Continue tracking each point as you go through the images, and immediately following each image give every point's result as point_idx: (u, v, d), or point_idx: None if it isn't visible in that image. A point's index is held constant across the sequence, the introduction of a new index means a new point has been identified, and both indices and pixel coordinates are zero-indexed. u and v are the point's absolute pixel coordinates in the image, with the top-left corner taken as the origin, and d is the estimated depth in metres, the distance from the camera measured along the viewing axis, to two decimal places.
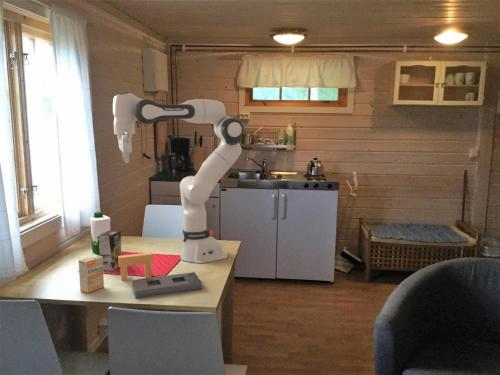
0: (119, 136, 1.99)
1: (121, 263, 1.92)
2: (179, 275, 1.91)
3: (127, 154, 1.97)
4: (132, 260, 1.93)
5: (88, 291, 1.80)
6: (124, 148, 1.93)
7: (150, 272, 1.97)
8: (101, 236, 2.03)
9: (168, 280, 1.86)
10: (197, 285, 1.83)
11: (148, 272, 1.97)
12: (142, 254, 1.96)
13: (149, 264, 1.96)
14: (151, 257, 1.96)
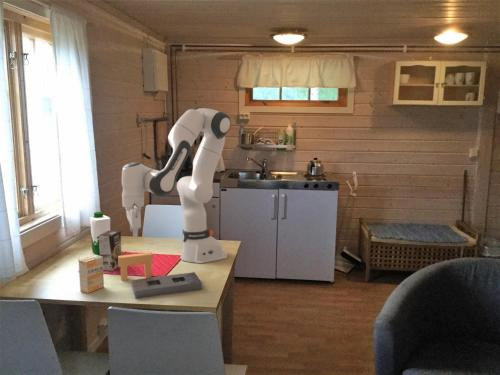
0: (127, 208, 1.89)
1: (121, 263, 1.92)
2: (179, 275, 1.91)
3: (136, 228, 1.87)
4: (132, 260, 1.93)
5: (88, 291, 1.80)
6: (133, 224, 1.82)
7: (150, 272, 1.97)
8: (101, 236, 2.03)
9: (168, 280, 1.86)
10: (197, 285, 1.83)
11: (148, 272, 1.97)
12: (142, 254, 1.96)
13: (149, 264, 1.96)
14: (151, 257, 1.96)
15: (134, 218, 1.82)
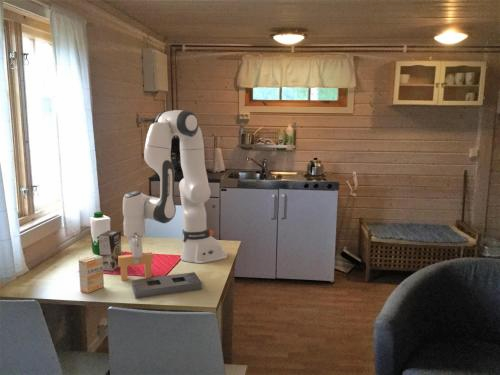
0: (129, 237, 1.91)
1: (121, 263, 1.92)
2: (179, 275, 1.91)
3: None
4: (132, 260, 1.93)
5: (88, 291, 1.80)
6: (134, 253, 1.85)
7: (150, 272, 1.97)
8: (101, 236, 2.03)
9: (168, 280, 1.86)
10: (197, 285, 1.83)
11: (148, 272, 1.97)
12: None
13: (149, 264, 1.96)
14: (151, 257, 1.96)
15: (135, 248, 1.85)
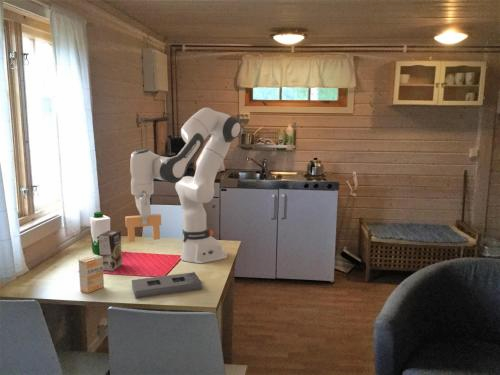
0: (137, 197, 1.84)
1: (128, 223, 1.85)
2: (179, 275, 1.91)
3: None
4: (140, 221, 1.86)
5: (88, 291, 1.80)
6: (142, 212, 1.78)
7: (158, 234, 1.90)
8: (101, 236, 2.03)
9: (168, 280, 1.86)
10: (197, 285, 1.83)
11: (156, 234, 1.90)
12: None
13: (157, 226, 1.89)
14: (159, 218, 1.89)
15: (143, 206, 1.78)
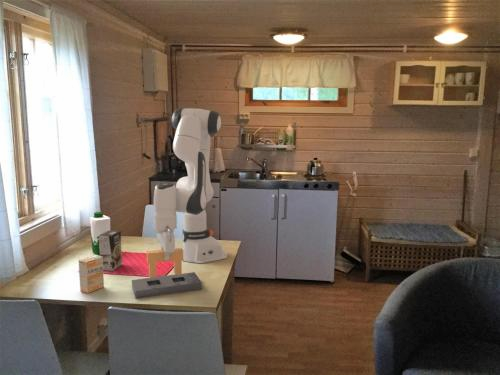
0: (160, 231, 1.78)
1: (150, 258, 1.79)
2: (179, 275, 1.91)
3: None
4: (162, 256, 1.81)
5: (88, 291, 1.80)
6: (166, 248, 1.72)
7: (180, 269, 1.84)
8: (101, 236, 2.03)
9: (168, 280, 1.86)
10: (197, 285, 1.83)
11: (178, 269, 1.84)
12: None
13: (179, 261, 1.84)
14: (182, 253, 1.83)
15: (168, 242, 1.72)
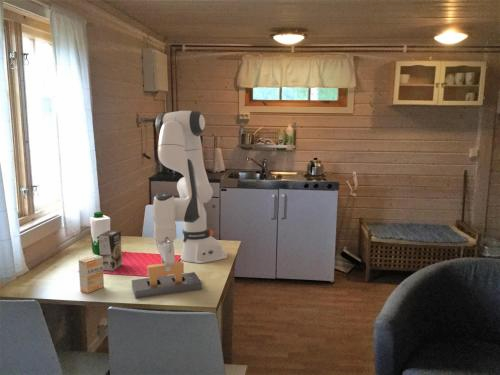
0: (159, 242, 1.79)
1: (150, 273, 1.81)
2: None
3: None
4: (162, 270, 1.82)
5: (88, 291, 1.80)
6: (166, 259, 1.73)
7: None
8: (101, 236, 2.03)
9: (168, 280, 1.86)
10: (197, 285, 1.83)
11: None
12: None
13: (180, 274, 1.85)
14: (182, 266, 1.85)
15: (168, 253, 1.73)
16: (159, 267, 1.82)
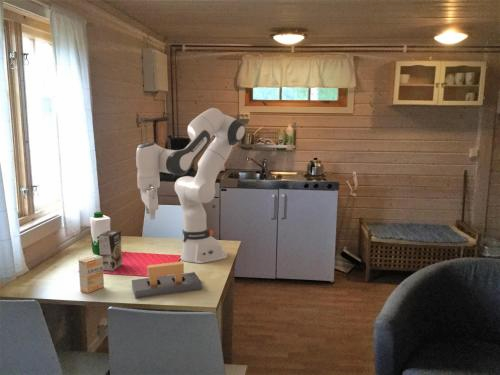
0: (143, 190, 1.84)
1: (150, 273, 1.81)
2: None
3: (153, 210, 1.82)
4: (162, 270, 1.82)
5: (88, 291, 1.80)
6: (150, 205, 1.77)
7: None
8: (101, 236, 2.03)
9: (168, 280, 1.86)
10: (197, 285, 1.83)
11: None
12: (172, 263, 1.85)
13: (180, 274, 1.85)
14: (182, 266, 1.85)
15: (151, 199, 1.77)
16: (159, 267, 1.81)
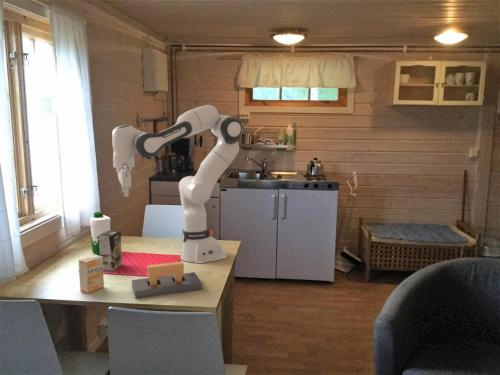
0: (118, 169, 1.96)
1: (150, 273, 1.81)
2: None
3: (127, 188, 1.94)
4: (162, 270, 1.82)
5: (88, 291, 1.80)
6: (123, 182, 1.90)
7: None
8: (101, 236, 2.03)
9: (168, 280, 1.86)
10: (197, 285, 1.83)
11: None
12: (172, 263, 1.85)
13: (180, 274, 1.85)
14: (182, 266, 1.85)
15: (124, 177, 1.90)
16: (159, 267, 1.81)
